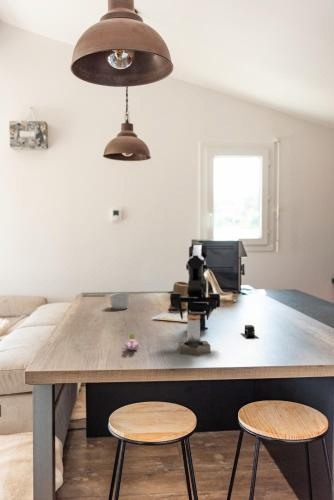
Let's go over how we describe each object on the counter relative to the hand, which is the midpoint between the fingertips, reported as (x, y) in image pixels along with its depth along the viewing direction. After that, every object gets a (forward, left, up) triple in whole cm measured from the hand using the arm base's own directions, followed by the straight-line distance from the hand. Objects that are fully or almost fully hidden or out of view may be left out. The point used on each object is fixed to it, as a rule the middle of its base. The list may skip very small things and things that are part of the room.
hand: (194, 319), depth 157 cm
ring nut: (+5, -4, -10) cm, 12 cm away
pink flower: (-10, -21, -10) cm, 25 cm away
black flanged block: (+1, +28, -11) cm, 30 cm away
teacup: (-88, +20, -10) cm, 91 cm away
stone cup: (-66, +46, -10) cm, 81 cm away
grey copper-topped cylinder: (+5, -4, -10) cm, 12 cm away
